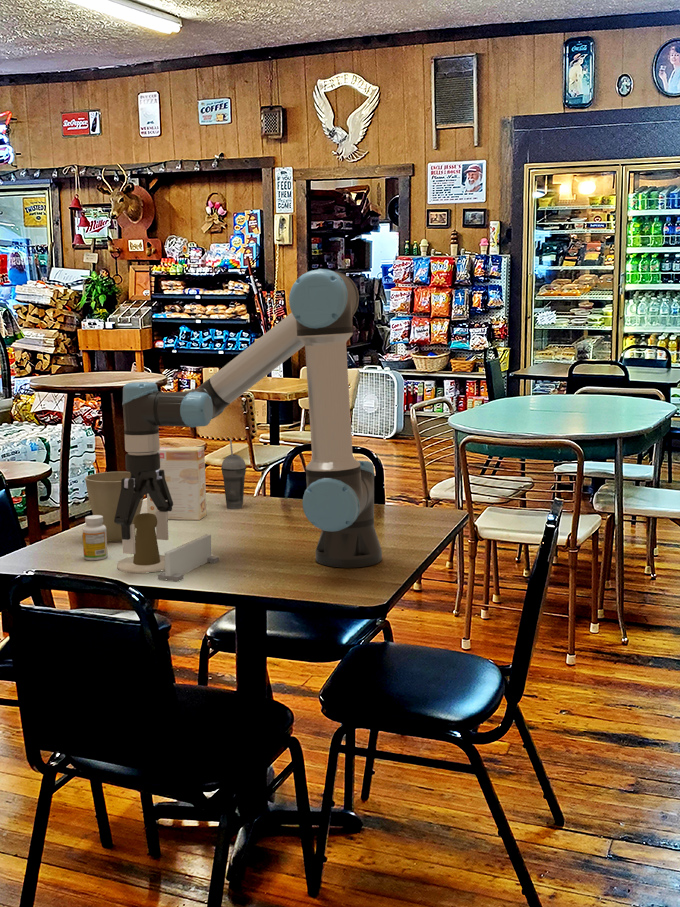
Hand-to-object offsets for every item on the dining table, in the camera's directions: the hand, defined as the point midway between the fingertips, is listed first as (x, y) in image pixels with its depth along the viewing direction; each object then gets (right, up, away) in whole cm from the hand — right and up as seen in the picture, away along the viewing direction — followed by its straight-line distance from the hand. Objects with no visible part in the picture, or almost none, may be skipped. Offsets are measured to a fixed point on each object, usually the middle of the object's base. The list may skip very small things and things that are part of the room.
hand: (146, 546), depth 216 cm
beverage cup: (+13, +5, +64) cm, 65 cm away
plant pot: (-12, -1, +27) cm, 29 cm away
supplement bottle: (-13, -4, +8) cm, 16 cm away
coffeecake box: (-2, +3, +51) cm, 51 cm away
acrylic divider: (+10, -5, -3) cm, 12 cm away
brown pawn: (0, -4, +1) cm, 4 cm away
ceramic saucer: (0, -4, +1) cm, 4 cm away
